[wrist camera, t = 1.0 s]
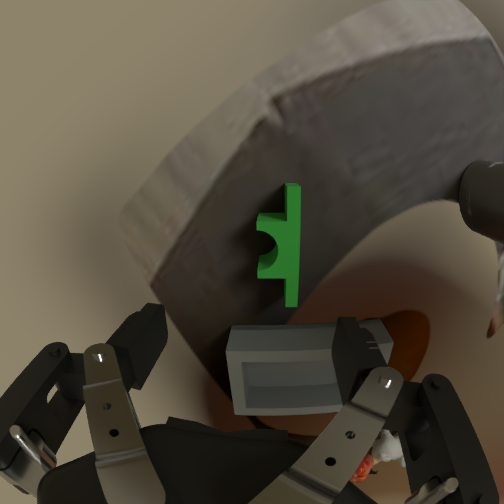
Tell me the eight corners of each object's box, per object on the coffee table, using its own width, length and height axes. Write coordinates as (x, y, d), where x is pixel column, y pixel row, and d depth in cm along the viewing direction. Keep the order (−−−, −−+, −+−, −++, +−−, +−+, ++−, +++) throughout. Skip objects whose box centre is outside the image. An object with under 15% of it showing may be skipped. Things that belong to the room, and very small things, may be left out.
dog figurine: (409, 436, 39) (422, 474, 29) (362, 436, 38) (372, 481, 28) (425, 420, 37) (442, 459, 27) (379, 419, 36) (393, 467, 26)
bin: (379, 318, 30) (393, 342, 25) (364, 382, 34) (373, 406, 29) (231, 325, 32) (225, 351, 27) (238, 388, 35) (235, 414, 30)
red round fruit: (338, 456, 44) (378, 470, 38) (321, 478, 39) (363, 495, 32) (345, 437, 43) (388, 452, 36) (327, 461, 37) (373, 478, 31)
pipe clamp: (258, 183, 27) (255, 186, 22) (295, 182, 26) (300, 185, 22) (259, 287, 30) (257, 307, 26) (294, 287, 30) (297, 307, 25)
